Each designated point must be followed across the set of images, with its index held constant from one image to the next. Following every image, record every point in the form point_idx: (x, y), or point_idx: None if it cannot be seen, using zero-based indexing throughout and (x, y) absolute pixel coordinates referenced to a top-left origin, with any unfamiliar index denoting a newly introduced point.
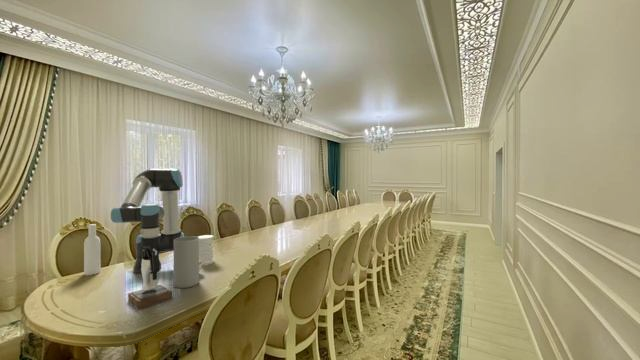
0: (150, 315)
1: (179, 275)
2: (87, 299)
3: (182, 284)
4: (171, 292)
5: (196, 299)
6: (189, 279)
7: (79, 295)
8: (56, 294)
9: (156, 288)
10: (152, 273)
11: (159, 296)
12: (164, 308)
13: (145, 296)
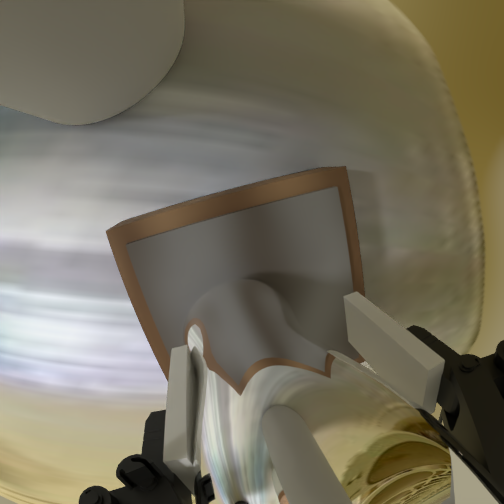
0: (429, 289)
1: (135, 51)
2: (89, 474)
3: (167, 62)
4: (344, 173)
5: (403, 71)
6: (183, 3)
7: (46, 476)
8: (30, 494)
9: (215, 270)
10: (434, 399)
11: (357, 255)
12: (411, 230)
13: (332, 339)
